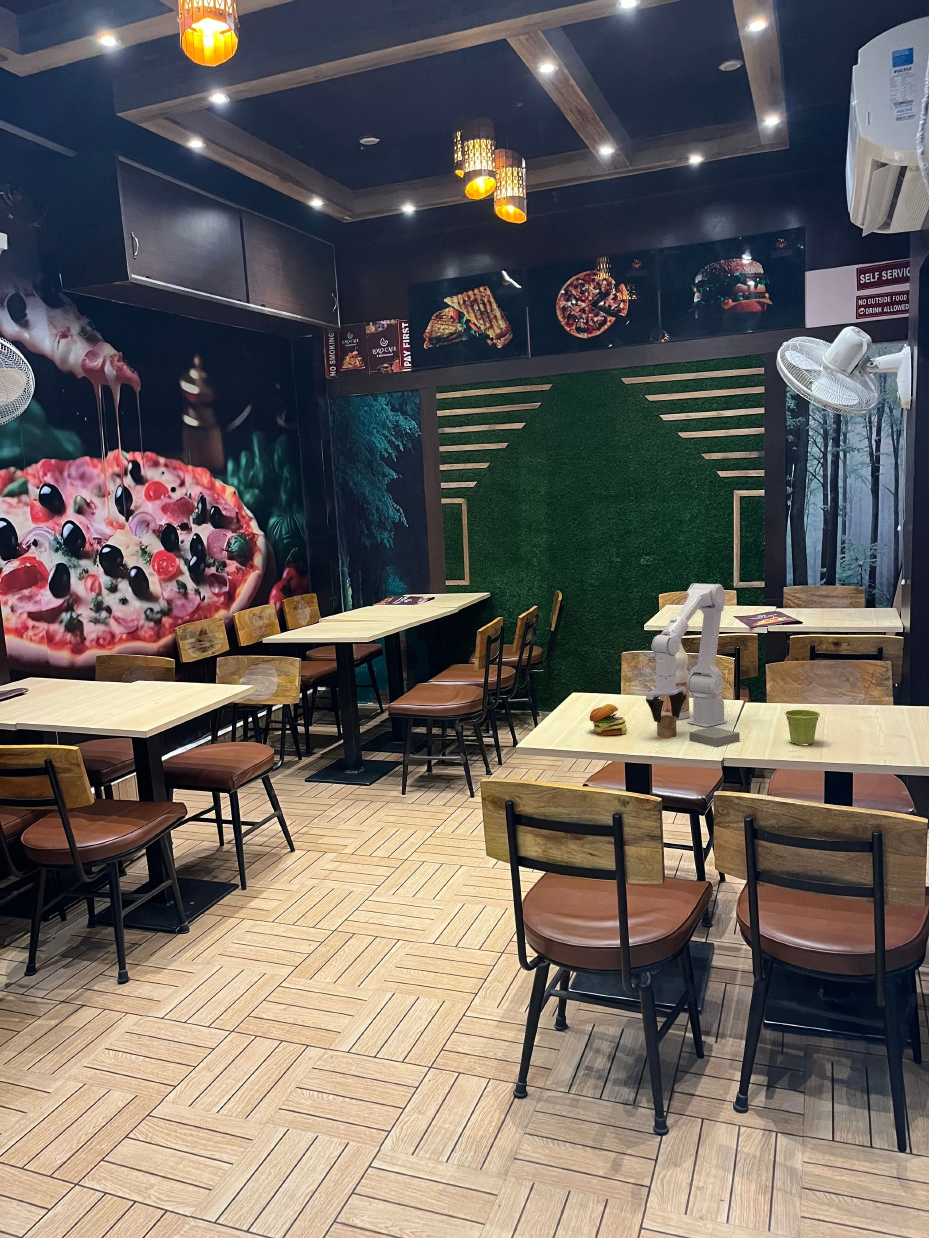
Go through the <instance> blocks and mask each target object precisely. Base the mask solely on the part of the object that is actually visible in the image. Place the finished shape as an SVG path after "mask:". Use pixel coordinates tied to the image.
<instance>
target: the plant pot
mask: <svg viewBox="0 0 929 1238" xmlns="http://www.w3.org/2000/svg"><path fill="white" fill-rule="evenodd" d="M784 715H785V716H786V720H787V723H788V725H787V726H788V731H789V738H790V739H789V740H790V743H791V742H792V743H791V744H793V743H795V745H797V744H810V745H812V744H811V743H813V742H815V737H816V730H817V724H818V720H819V719H820V717H821V713H820V712H818V711H816V710H809V709H790V710H786V711H785V712H784ZM813 744H814V743H813Z"/></svg>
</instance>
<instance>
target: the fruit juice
mask: <svg viewBox="0 0 929 1238" xmlns="http://www.w3.org/2000/svg"><path fill="white" fill-rule="evenodd" d="M675 658H676V687H677V686H684V687H686V693H683V694H685V695H686V699H685V701H684V703H683V705H682V707H681V711H680V715H679V718H678V719H677V718H676V721H678V720H685V719H688V718H690V717H689V716H690V692H689V690H688V688H687V680H688V678H689V675H690V673H689V671H688V668H687V666H688V664H689V656H688V653H687V652H686V650H685V649H684V646H683V644H682V642H681V643H680V648H679V651H678V652H677V654H675ZM659 699H660V700H663V701H664V703H663V706H662V711H661V716H662V715H671V716H672V713H671V703H670V699H669V696H664V697H659Z"/></svg>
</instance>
